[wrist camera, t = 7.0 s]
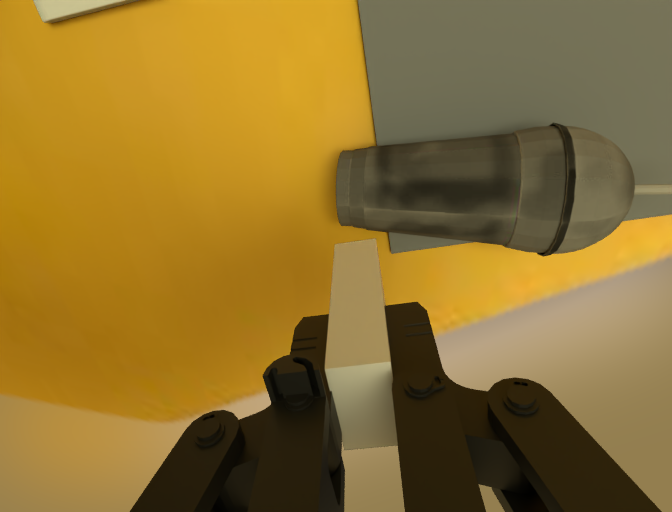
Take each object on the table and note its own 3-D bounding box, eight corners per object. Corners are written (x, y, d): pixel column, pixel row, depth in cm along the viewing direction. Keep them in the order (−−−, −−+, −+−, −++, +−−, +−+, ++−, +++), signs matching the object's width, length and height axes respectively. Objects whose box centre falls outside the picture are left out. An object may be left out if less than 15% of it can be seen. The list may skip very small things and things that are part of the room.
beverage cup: (349, 251, 29) (678, 264, 26) (327, 244, 22) (779, 261, 18) (354, 147, 30) (680, 144, 26) (334, 106, 22) (782, 95, 19)
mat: (390, 250, 30) (391, 253, 30) (356, -10, 23) (356, -11, 23) (693, 207, 28) (698, 210, 28) (757, -94, 21) (766, -97, 21)
